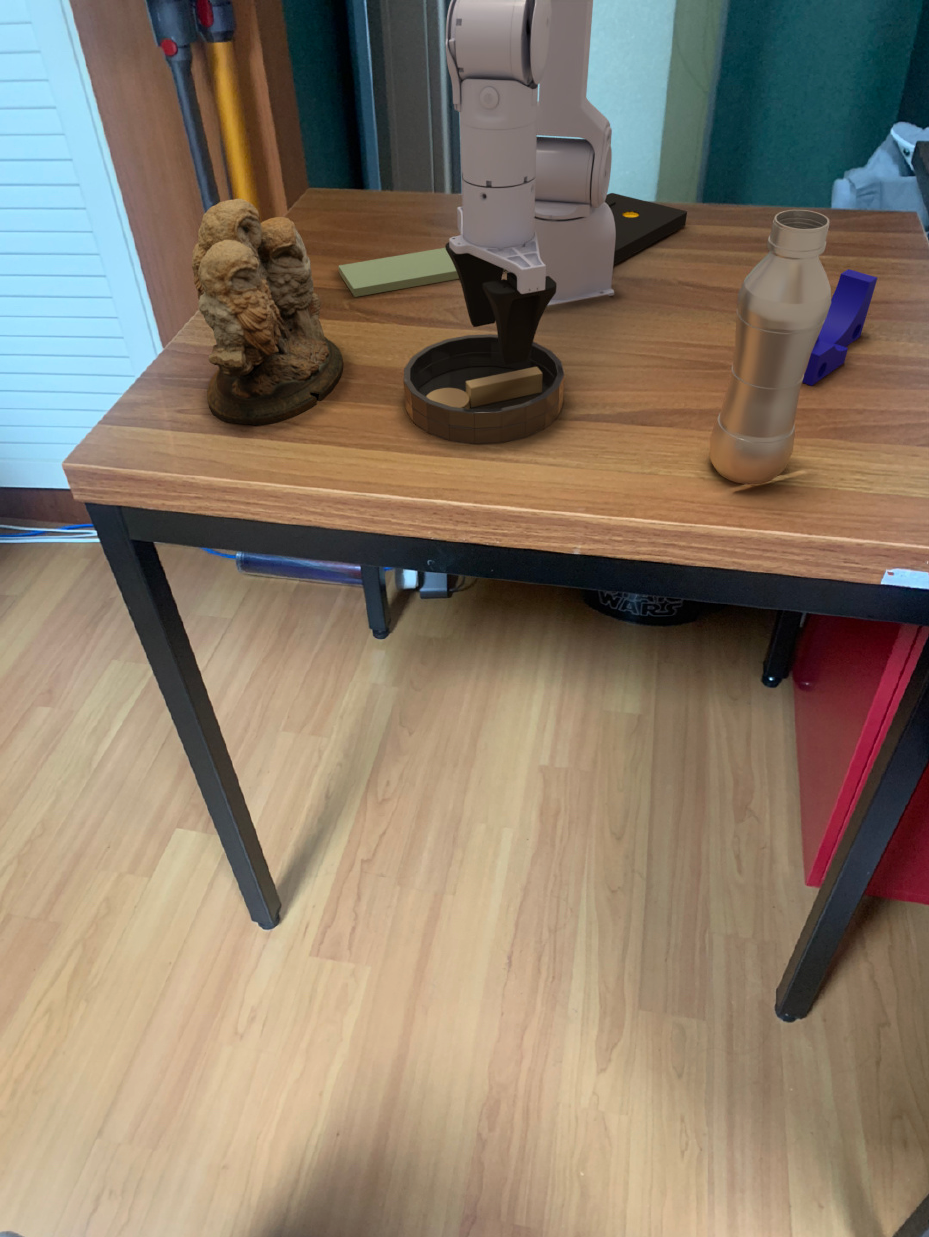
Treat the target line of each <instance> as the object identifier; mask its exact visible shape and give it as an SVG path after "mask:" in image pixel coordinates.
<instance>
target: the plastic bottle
mask: <svg viewBox="0 0 929 1237" xmlns="http://www.w3.org/2000/svg"><path fill="white" fill-rule="evenodd" d="M829 228H830V218H828V216H826V215H824V214H823V213H820V212H817V211H813V210H806V209H788V210H783V211H780V212H778V213H777V214H775V215H774V218H773V220H772V225H771V228H770V234H769V235H768V238H767V242H766V247H767V249H768V253H767V254H766V255H765V256H764V257H763V258H762V259H761V260H760V261H759V262H758V263H757V264H756V265H755V266H754V267H753V268H752V269H751V271H750V272H749V273H748V274H747V275H746V276H745V278H744V280H743V282H742V284H741V286H740V288H739V290H738V292H737V302H736V316H735V318H736V319H735V340H734V341H735V342H734V348H733V356H732V365H731V368H730V369H731V370H730V376H729V381H728V384H727V388H726V391H725V394H724V398H723V402H722V405H721V409H720V412H719V413H718V415H717V419H716V421H715V423H714V424H713V428H712V431H711V434H710V437H709V459H710V462H711V464H712V465H713V468H714V469H715V470H716V472H717V473H718V474H719V476H721V477H723V478H724V479H726V480H729V481H730V482H733V483H736V484H742V485H749V486H751V485H752V486H753V485H754V486H755V485H762V484H765V483H769V482H771V481H772V480H774V479H775V478H776V477H778V476H779V475H780V474H782V473H783V472H784V471H785V469H786V468H787V465H788V464H789V461H790V459H791V457H792V454H793V452H794V446H795V436H796V435H795V434H796V432H795V431H796V425H795V423H796V416H797V412H798V411H797V410H798V405H799V398H800V392H801V386H802V383H803V382H802V381H803V378H804V373H805V371H806V368H807V365H808V362H809V359H810V355H811V352H812V350H813V348H814V345H815V343H816V340H817V338H818V336H819V333H820V331H821V329H822V326H823V324H824V321H825V319H826V317H827V314H828V311H829V308H830V305H831V299H832V288H831V283H830V281H829V277H828V275H827V272H826V270H825V268H824V266H823V264H822V262H821V259H820V255H822V254H824V252H825V250H826V246H827V237H828V236H827V235H828V232H829Z"/></svg>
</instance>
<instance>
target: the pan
mask: <svg viewBox="0 0 929 1237" xmlns="http://www.w3.org/2000/svg"><path fill="white" fill-rule="evenodd" d="M532 367H538V368H539V370H540V371H541V372H542V373H543V378H542V393H537V394H533V395H528V396H523V397H518V398H514V399H509V400H504V401H500V402H495V403H490V404H486V405H481V406H476V407H471V406H470V409H466V408H458V407H451V406H448V405H445V404H442V403H439V402H436V401H433V400H430V399H429V398H427V397H426V396H427V395H428V394H429V393H430V392H432V391H434V390H437V389H441V388H456V389H460V390H462V391H464V392H466V381H469V380H474V379H479V378H484V377H488V376H493V375H498V374H503V373H508V372H513V371H518V370H522V369H527V368H532ZM403 389H404V390H403V391H404V403H405V411H406V413H407V414H408V416H409V418H410V419H411V421H412V423H413V424H415V426H417V427H418V428H419V429H421V430H422V431H424V432H426V433H428V434H430V435H432V436H433V437H436V438H440V439H443V440H446V441H449V442H454V443H455V442H456V443H461V444H469V445H493V444H494V445H495V444H502V443H508V442H513V441H518V440H521V439H525V438H528V437H530V436H533V435H535V434H536V433H539V432H541V431H542V430H544V429H545V428H547V427H548V426H550V425H551V424H552V423H553V422H554V421H555V420H556V419H557V418H558V417H559V415H560V412H561V410H562V407H563V404H564V390H565V370H564V366H563V362H562V361H561V360H560V359H559V357H558V356H557V355H556V354H555V353H554V352H553V351H552V350H550V349H548V348H547V347H545V346H543V345H541V344H540V343H537V342H535V341H533V344H532V347H531V351H530V354H529V357H528V360H527V361H524V362H519V363H514V364H509V365H505V363H504V362H503V360H502V357H501V354H500V349H499V342H498V334H492V333H490V334H489V333H487V334H467V335H462V336H457V337H451V338H447V339H443V340H441V341H438V342H436V343H433V344H430V345H427V346H426V347H424V348H423V349H421V350H420V351H419V352H417V353H416V354H414V355H413V356H412V357H410V359H409V361H408V362H407V363H406V365H405V366H404V368H403Z"/></svg>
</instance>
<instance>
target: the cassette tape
mask: <svg viewBox="0 0 929 1237" xmlns="http://www.w3.org/2000/svg"><path fill="white" fill-rule="evenodd" d="M605 203H606V204H607V205H608V206H609V207H610V209H611V211H612V214H613V217H614V222H615V230H616V239H615V250H614V262H613V266H615V265H616V264H618V263H620V262H622V261H624V260H625V259H628V258H629V257H631V256H633V255H634V254H636V253H638V252H639V251H642V250H644V249H646V248H647V247H649V246H651V245H653V244H654V243H656V242H659V241H660V240H661V239H663V238H665V237H667V236H669V235H671V234H673V233H674V232H676V231H678V230H680V229H682V228H684V227H685V226H686V224H687V216H688V211H687V210H684V209H679V208H675V207H671V206H668V205H664V204H659V203H656V202H652V201H648V200H647V201H646V200H644V199H639V198H635V197H632V196H627V195H622V194H619V193H615V192H610V193H607V196H606V200H605Z"/></svg>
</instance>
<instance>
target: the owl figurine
mask: <svg viewBox="0 0 929 1237" xmlns="http://www.w3.org/2000/svg"><path fill="white" fill-rule="evenodd" d="M197 235H198V236H197V238H198V239H197V240H198V241H197V243H196V244H195V245H194V248H193V249H192V253H191V268H192V272H193V277H194V278H193V283H194V285H195V289H196V291H197V298H198V302H197V304H198V310H199V312H200V314H201V315H203V318H204V321H205V323H206V324H207V325H208V327H209V328H211V329H212V331H213V338H214V339H215V343H216V344H214V345H213V346H212V349H211V351H212V352H211V353H210V354H209V355H208V361H209V363H210V364H212V365H214V366H217V367H218V369H217V370H216V372H214V373H213V376H212V377H211V379H210V381H209V383H208V387H207V391H206V398H207V403H208V407H209V409H210V412H211V413H212V415H213V416H214V417H216V418H217V419H218V418H219V419H220V420H221V421H223V422H224V423H226V424H227V423H230V424H232V423H233V424H243V425H246V424H247V425H252V426H257V427H259V426H267V425H273V424H278V423H280V422H284V421H288V420H290V419H293V418H295V417H297V416H299V415H301V414H303V413H305V412H307V411H308V410H310V409H313V408H314V407H315V406H316V405H317V404H318V402H322V401H323V400H324V399H326V397H328V395H329V394H331V392H332V391H334V389H335V387H336V386H337V384H338V383H339V381H340V379H341V378H342V374H343V371H344V359H343V355H342V352H341V350H340V348H339V347H338V346H337V345H336V344H335V343H334V342H333V341H332V340H329V339H328V338H327V337H326V336H325V334H324V330H323V326H322V324H321V320H320V313H321V311H320V310H321V304H322V301H321V296H320V295H319V294H317V293H315V292H314V289H315V288H314V278H313V277H312V274H313V271H312V268H311V260H310V257H309V256H308V254H307V253H308V251H307V249H306V246H305V244H304V241H303V238H302V237H301V234H300V233H299V231H298V229H297V227H296V226H295V222H294V221H292V220H290V218H288V217H283V216H275V217H271V218H268V219H266V220H263V221H262V222H261V215H260V213H259V211H258V210H257V208H256V206H255V205H254V204H252V203H251V202H250V201H247V200H245V199H244V198H234V199H229V200H222V201H219V202H217V204H215V205H212V206H210V207H209V208H208V209H207V210H206V211H205V213H203V215H202V219H201V223H200V226H199V228H198V231H197ZM259 365H260V366H259ZM257 366H258V367H257ZM311 393H312V394H318V399H317V397H316V396H314V395H312V394H311Z"/></svg>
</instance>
